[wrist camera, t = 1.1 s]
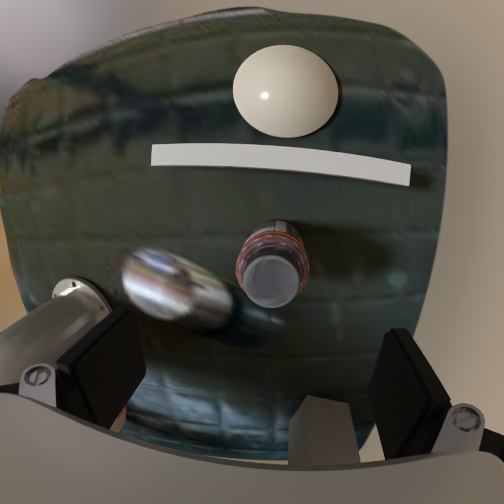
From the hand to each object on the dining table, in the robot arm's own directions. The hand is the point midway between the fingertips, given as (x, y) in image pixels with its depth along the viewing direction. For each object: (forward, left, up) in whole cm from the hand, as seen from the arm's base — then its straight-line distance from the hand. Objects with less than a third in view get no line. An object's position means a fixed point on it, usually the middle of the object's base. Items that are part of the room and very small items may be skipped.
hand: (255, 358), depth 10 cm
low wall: (+8, 0, -21) cm, 23 cm away
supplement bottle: (-1, 0, -22) cm, 22 cm away
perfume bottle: (-26, -9, -22) cm, 35 cm away
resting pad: (+16, 0, -21) cm, 27 cm away
